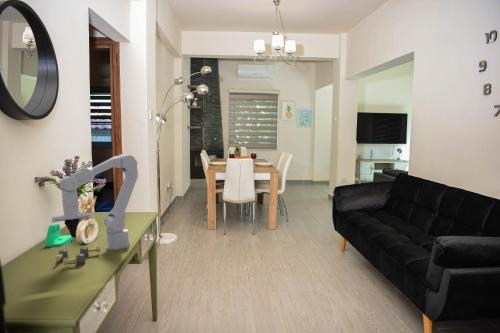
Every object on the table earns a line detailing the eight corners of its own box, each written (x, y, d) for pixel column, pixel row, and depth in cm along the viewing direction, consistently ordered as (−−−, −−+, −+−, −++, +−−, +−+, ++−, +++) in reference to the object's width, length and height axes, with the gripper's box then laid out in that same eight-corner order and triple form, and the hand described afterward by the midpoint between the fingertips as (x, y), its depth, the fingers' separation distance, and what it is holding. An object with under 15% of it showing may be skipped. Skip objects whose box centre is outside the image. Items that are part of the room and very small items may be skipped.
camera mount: (62, 249, 158) (60, 227, 157) (45, 249, 158) (43, 228, 156) (74, 240, 170) (72, 220, 169) (59, 240, 170) (57, 220, 168)
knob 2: (84, 261, 139) (83, 252, 139) (86, 263, 137) (85, 255, 136) (63, 266, 135) (62, 257, 134) (64, 269, 132) (63, 260, 132)
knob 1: (61, 257, 144) (60, 249, 143) (69, 256, 144) (68, 248, 144) (53, 265, 136) (52, 256, 136) (61, 264, 137) (61, 256, 136)
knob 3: (80, 258, 143) (79, 250, 142) (81, 255, 146) (80, 247, 145) (100, 255, 145) (99, 247, 145) (100, 252, 148) (99, 244, 148)
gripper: (90, 201, 147) (93, 231, 149) (52, 204, 142) (56, 235, 144) (89, 204, 141) (91, 236, 142) (49, 208, 136) (52, 241, 138)
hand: (73, 236), depth 143 cm, fingers closed
